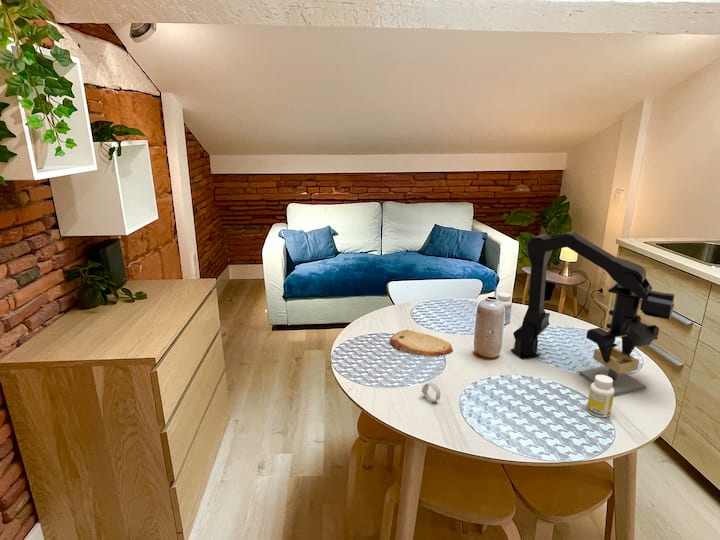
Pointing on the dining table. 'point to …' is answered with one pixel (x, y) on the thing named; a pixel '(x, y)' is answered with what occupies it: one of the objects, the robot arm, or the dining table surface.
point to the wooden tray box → (618, 361)
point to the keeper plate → (614, 380)
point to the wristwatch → (425, 388)
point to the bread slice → (420, 344)
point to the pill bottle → (506, 305)
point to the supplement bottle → (601, 396)
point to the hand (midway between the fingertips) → (615, 360)
